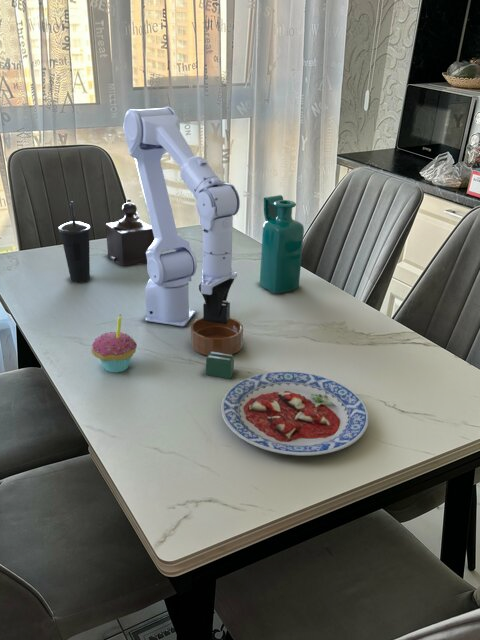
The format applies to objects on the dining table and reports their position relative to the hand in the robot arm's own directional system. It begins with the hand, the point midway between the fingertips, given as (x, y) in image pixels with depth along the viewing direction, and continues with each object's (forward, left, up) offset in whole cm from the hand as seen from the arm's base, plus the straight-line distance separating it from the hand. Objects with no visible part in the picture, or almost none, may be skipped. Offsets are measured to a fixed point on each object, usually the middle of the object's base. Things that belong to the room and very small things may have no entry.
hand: (216, 313), depth 125 cm
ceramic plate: (+21, -22, -8) cm, 31 cm away
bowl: (0, 0, -8) cm, 8 cm away
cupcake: (-16, -15, -8) cm, 23 cm away
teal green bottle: (+6, +37, -8) cm, 38 cm away
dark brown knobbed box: (-36, +41, -8) cm, 56 cm away
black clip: (0, 0, -1) cm, 1 cm away
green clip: (+4, -11, -8) cm, 14 cm away
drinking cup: (-44, +24, -8) cm, 51 cm away
